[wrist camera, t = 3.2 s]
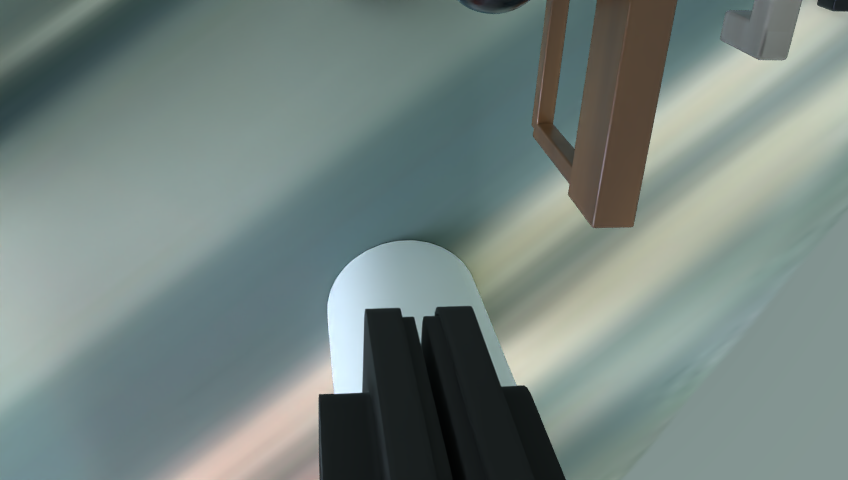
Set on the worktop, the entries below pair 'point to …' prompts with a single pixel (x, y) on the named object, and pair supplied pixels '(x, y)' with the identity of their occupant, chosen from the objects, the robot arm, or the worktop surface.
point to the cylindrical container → (400, 302)
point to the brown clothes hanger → (629, 93)
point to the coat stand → (496, 3)
